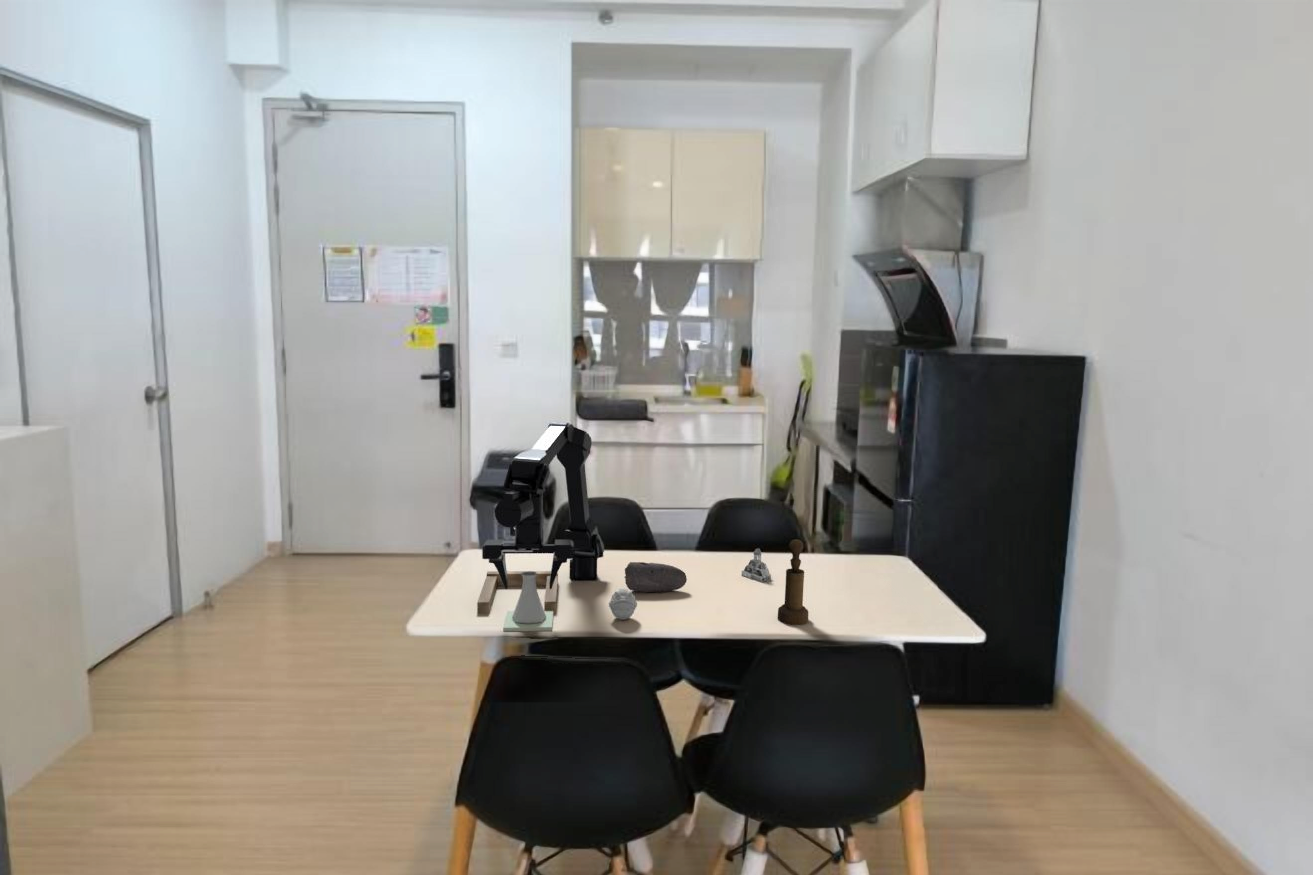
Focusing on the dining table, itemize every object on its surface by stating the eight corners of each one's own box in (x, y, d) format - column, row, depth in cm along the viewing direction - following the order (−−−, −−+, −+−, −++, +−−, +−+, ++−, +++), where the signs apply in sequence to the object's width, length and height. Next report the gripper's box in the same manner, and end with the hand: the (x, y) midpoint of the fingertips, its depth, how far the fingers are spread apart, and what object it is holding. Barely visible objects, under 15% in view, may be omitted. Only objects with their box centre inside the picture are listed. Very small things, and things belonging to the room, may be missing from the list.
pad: (553, 614, 185) (553, 610, 185) (551, 630, 175) (552, 627, 175) (507, 614, 184) (507, 610, 184) (503, 631, 174) (503, 627, 174)
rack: (557, 582, 207) (558, 571, 206) (555, 612, 186) (555, 599, 186) (487, 583, 205) (487, 571, 205) (477, 613, 184) (477, 599, 184)
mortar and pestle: (810, 617, 187) (814, 538, 184) (805, 626, 181) (809, 545, 178) (780, 613, 189) (784, 534, 186) (774, 622, 183) (778, 541, 180)
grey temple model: (789, 578, 216) (790, 549, 215) (765, 584, 210) (766, 554, 209) (764, 569, 223) (765, 541, 222) (740, 575, 217) (741, 546, 216)
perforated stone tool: (685, 587, 205) (686, 560, 204) (687, 594, 200) (688, 566, 199) (624, 587, 205) (624, 559, 204) (624, 594, 200) (624, 565, 199)
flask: (513, 612, 183) (513, 568, 181) (547, 612, 183) (547, 568, 182) (510, 624, 176) (510, 578, 174) (545, 624, 176) (545, 578, 175)
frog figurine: (608, 625, 179) (609, 593, 178) (608, 613, 186) (609, 583, 185) (637, 625, 179) (637, 593, 178) (636, 613, 186) (636, 583, 185)
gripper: (573, 508, 185) (573, 577, 187) (487, 507, 183) (487, 577, 185) (573, 520, 174) (572, 593, 176) (481, 519, 172) (482, 593, 174)
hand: (528, 588), depth 178 cm, fingers open, 9 cm apart
